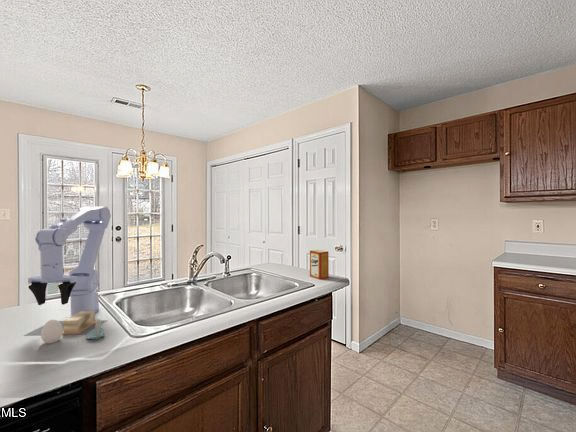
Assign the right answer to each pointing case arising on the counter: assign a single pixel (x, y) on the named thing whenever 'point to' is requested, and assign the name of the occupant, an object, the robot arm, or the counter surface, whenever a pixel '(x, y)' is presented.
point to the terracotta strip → (80, 330)
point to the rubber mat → (85, 332)
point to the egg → (51, 331)
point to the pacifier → (95, 332)
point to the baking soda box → (319, 264)
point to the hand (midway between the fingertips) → (53, 303)
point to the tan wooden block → (78, 321)
